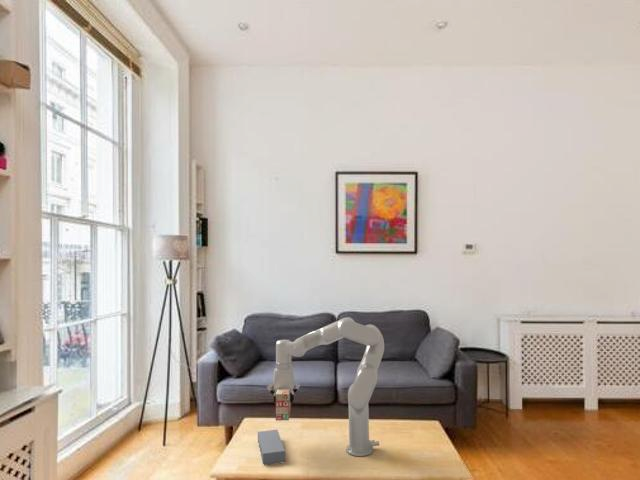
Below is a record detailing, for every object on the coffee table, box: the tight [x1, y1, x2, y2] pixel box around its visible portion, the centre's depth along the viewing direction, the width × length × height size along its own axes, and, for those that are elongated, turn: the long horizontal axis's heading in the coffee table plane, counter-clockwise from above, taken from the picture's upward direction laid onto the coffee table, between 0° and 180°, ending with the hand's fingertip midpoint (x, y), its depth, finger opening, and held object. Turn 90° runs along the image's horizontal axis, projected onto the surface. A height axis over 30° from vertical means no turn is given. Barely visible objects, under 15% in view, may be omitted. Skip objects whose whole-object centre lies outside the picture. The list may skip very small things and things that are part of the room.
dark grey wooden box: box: [257, 429, 286, 466], centre depth 206 cm, size 10×26×5 cm, turn 13°
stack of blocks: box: [275, 388, 292, 422], centre depth 209 cm, size 21×6×12 cm, turn 2°
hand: (283, 402), depth 209 cm, fingers closed on stack of blocks, 6 cm apart
